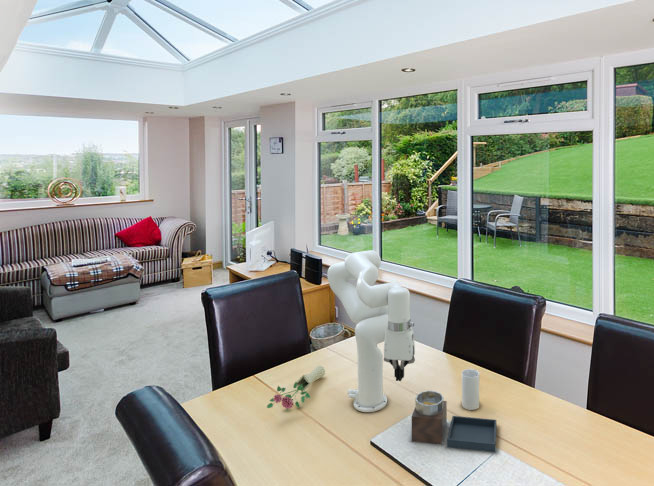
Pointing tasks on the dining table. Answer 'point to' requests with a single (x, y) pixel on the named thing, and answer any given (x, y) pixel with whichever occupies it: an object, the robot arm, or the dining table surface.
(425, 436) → the block
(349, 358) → the dining table surface
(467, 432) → the tray
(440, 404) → the bowl
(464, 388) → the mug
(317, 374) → the flower vase
